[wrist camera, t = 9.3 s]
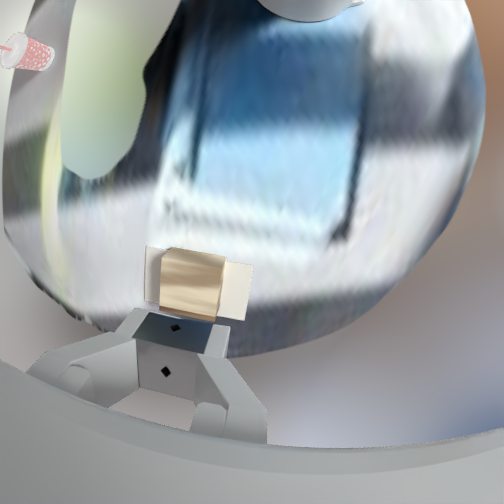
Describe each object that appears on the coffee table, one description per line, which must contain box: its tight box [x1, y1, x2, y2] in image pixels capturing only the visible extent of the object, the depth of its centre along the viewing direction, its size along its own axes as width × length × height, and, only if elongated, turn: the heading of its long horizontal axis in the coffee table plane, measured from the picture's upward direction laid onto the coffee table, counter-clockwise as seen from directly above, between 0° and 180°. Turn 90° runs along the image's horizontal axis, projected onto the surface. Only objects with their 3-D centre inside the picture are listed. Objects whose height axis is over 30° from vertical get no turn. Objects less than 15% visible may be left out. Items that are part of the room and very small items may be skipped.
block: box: [159, 247, 226, 322], centre depth 42 cm, size 4×8×8 cm
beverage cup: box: [0, 32, 55, 71], centre depth 28 cm, size 6×6×14 cm
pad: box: [145, 246, 254, 320], centre depth 45 cm, size 9×16×1 cm, turn 81°
